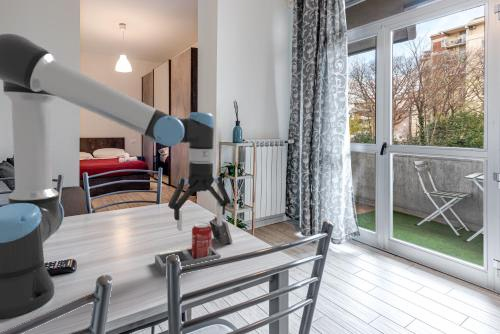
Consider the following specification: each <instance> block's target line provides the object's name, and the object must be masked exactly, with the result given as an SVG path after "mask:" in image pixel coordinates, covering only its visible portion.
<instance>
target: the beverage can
mask: <svg viewBox="0 0 500 334" xmlns="http://www.w3.org/2000/svg"><path fill="white" fill-rule="evenodd" d="M212 235H213V233H212V229H211V226H210V223H209V222H206V221H205V222H204V221H201V222H200V221H199V222H195V223H194V224H193V227H192V228H191V247H192V257H193V259H198V258H203V257H208V256H211V247H212V240H213V239H212Z"/></svg>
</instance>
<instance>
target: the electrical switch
mask: <svg viewBox="0 0 500 334" xmlns="http://www.w3.org/2000/svg"><path fill="white" fill-rule="evenodd" d="M208 223H209V224H210V225H209V226H210V227H211V229H212V235H213V239H215V240H216V241H217V242H218V243H220V244H221V245H223V246H224V245H227V244H230V245H231V244H232V243H233V239H232V235H231V232H230V227H229V224H228V222H227V221H226V220H225V219H223V218H222V226H220V225H218V224H217V215H214V218H212V219H211V220H209V221H208Z"/></svg>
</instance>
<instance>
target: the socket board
mask: <svg viewBox="0 0 500 334" xmlns="http://www.w3.org/2000/svg"><path fill="white" fill-rule="evenodd" d="M172 254H175V255H178V256H179V258H180V259H179V260H182V261H180V262H181V266H186V265H191V264H197V263H201V262H205V261H210V260H214V259H219V258H221V254H220V253H219V252H218V251H217V250H216V249H215V248H214V247H212V246H211V256H208V257H203V258H198V259H193V257H192V246H191V247H187V248H186V249H183V250H182V249H176V250H169V251H163V252H159V253H158V254H155V255H154V263H155V265H156V267H157V268H158V270H159V273H160V274H161V275H162V276H164V275H167V274H166V265H167V264H164V263H166V257H167V256H169V255H172Z"/></svg>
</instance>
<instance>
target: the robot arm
mask: <svg viewBox="0 0 500 334" xmlns="http://www.w3.org/2000/svg"><path fill="white" fill-rule="evenodd" d="M0 80H1V81H2V86H3V87H2V88H3V95H5V96H7V98H8V99H9V100H10V101H11V120H12V123H11V124H12V125H11V126H12V141H13V143H12V144H13V145H12V146H13V147H12V148H13V164H14V165H13V166H14V168H13V169H14V190H13V191H12V192H10V194H9V195H8V204H6V205H5V204H4V205H2V206H0V320H1V319H7V318H8V319H9V318H15V317H18V316H20V315H24V314H28V313H30V312H32V311H34V310H36V309H39V308H40V307H42V306H44V305H46V304H47V303H48V302H50V300H51V299H53V297H54V294H55V284H54V282H53V279H52V278H51V275H50V274H49V272H48V270H47V267H46V266H45V259H44V258H45V256H44V243H45V242H46V241H47V240H48V239H49V238H50V237H51V236H53V235H54V234H55V233H56V232H57V231H58V230H59V228H60V227H61V225H62V223H63V220H64V217H65V210H64V207H63V205H62V203H61V202H60V199H59V198H60V196H59V195H60V194H59V191H57V190H56V189H55V188H54V187H53V166H52V165H53V164H52V162H53V161H52V160H53V159H52V129H51V127H52V124H51V123H52V121H51V103H52V102H53V101H54V100H55V99H56V98H57V97H58V98H59V99H62V100H64V101H66V102H69V103H71V104H73V105H75V106H78V107H80V108H82V109H85V110H87V111H88V112H91V113H93V114H95V115H97V116H99V117H102V118H105V119H107V120H109V121H111V122H114V123H116V124H117V125H120V126H122V127H125V128H127V129H130V130H132V131H134V132H136V133H139V134H141V135H142V136H145V137H147V138H148V139H149V142H151V143H158V144H160V145H163V146H166V147H172V146H174V147H175V146H176V145H178V144H187V143H188V144H189V145H188V146H189V147H188V151H189V152H188V160H189V164H188V177H187V178H186V177H185V178H183V177H179V178H178V182H177V186H176V188H175V190H174V192H173V194H172V196H171V197H170V200H169V202H168V204H167V207H168V208H169V209H171V210H173V218H174V220H175V221H177V222H176V229H177V230H178V231H179V232H182V231H183V210H182V209H181V208H182V207H183V206H184V204H185V203H186V201H188V199H190V197H191V196H192V194H194V193H195V192H197V193H198V192H207V191H208V192H210V194H211V196H213V197H214V199H215V200H216V201H217V202H218V203H219V204H217V206H216V208H217V209H216V216H217V224H218V225H220V226H222V219H223V216H224V215H225V214H226V207H227V204H228V205H229V204H231V199H230V196H229V194H228V192H227V190H226V188H225V186H224V184H223V178H222V176H219V175H216V176H214V175H213V174H214V164H213V161H214V134H215V131H214V130H215V127H214V116H213V115H214V114H212V113H210V112H199V111H198V112H197V111H196V112H193V111H192V112H190V113H189V114H188V115H189V116H188V118H185V117H183V118H179V117H176V116H173V115H170V114H168V113H165V112H163V111H162V110H158V109H157V108H155V107H153V106H150V105H148V104H146V103H144V102H143V101H140V100H138V99H137V98H134V97H132V96H131V95H130V96H129V95H127V94H125V93H124V92H121V91H120V90H118V89H115V88H114V87H112V86H110V85H107V84H104V83H102V82H100V81H98V80H96V79H95V78H93V77H90V76H88V75H85V74H84V73H82V72H79V71H77V70H75V69H73V68H71V67H69V66H67V65H65V64H63V63H61V62H58V61H57V59H55V56H54V54H51V52H49V51H48V50H46V49H45V48H43V47H41V46H39V45H37V44H36V43H34V42H33V41H31V40H29V39H28V38H27V37H24V36H22V35H18V34H14V33H1V34H0ZM187 183H188V185H189V186H188V187H187V189H186V190H185V191H184V193H183V190H184V188H185V186H187ZM213 183H216V185H217V188H218V189H219V192H220V194H221V196H222V197H221V196H220V195H219V193H218V192H217V191H216V190H215V188H214V187H213V186H212V184H213ZM182 193H183V194H182ZM181 194H182V195H181ZM179 197H180V198H179ZM222 198H223V199H222Z"/></svg>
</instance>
